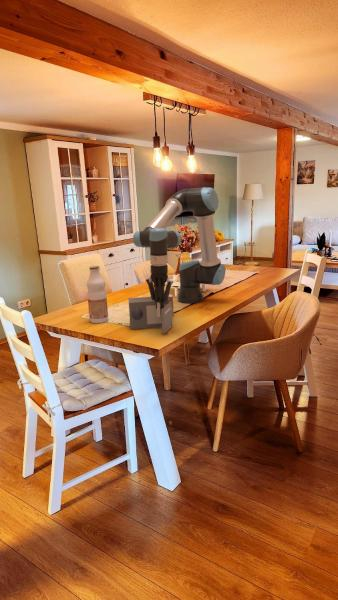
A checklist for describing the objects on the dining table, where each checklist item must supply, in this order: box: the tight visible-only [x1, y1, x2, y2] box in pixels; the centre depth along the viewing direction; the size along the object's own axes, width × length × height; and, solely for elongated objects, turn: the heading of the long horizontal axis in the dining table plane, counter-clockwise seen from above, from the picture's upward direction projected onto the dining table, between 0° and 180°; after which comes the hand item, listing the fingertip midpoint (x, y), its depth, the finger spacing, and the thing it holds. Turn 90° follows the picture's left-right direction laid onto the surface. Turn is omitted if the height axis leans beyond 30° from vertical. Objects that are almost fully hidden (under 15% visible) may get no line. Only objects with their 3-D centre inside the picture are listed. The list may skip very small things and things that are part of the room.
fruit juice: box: [86, 265, 109, 324], centre depth 199 cm, size 9×9×28 cm
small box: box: [168, 293, 175, 317], centre depth 206 cm, size 8×6×10 cm
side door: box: [161, 301, 173, 334], centre depth 181 cm, size 12×1×12 cm, turn 164°
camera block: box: [128, 296, 170, 331], centre depth 190 cm, size 19×10×14 cm, turn 97°
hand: (160, 315), depth 180 cm, fingers closed
